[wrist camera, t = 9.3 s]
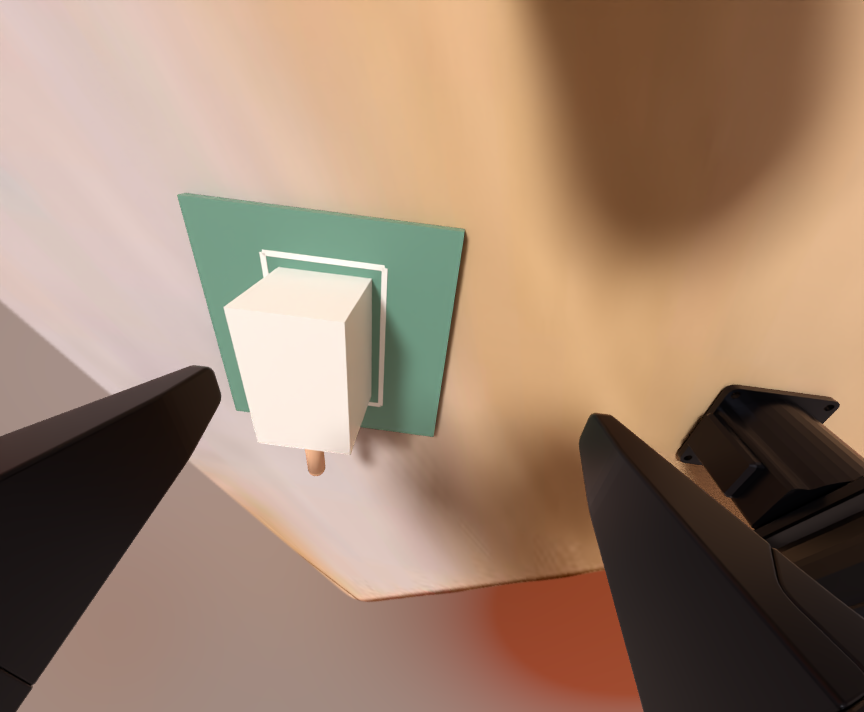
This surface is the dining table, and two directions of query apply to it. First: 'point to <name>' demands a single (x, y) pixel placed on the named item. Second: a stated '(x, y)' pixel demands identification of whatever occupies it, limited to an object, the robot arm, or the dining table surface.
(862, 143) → the dining table surface
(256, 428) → the block
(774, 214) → the dining table surface
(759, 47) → the dining table surface
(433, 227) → the pin board
